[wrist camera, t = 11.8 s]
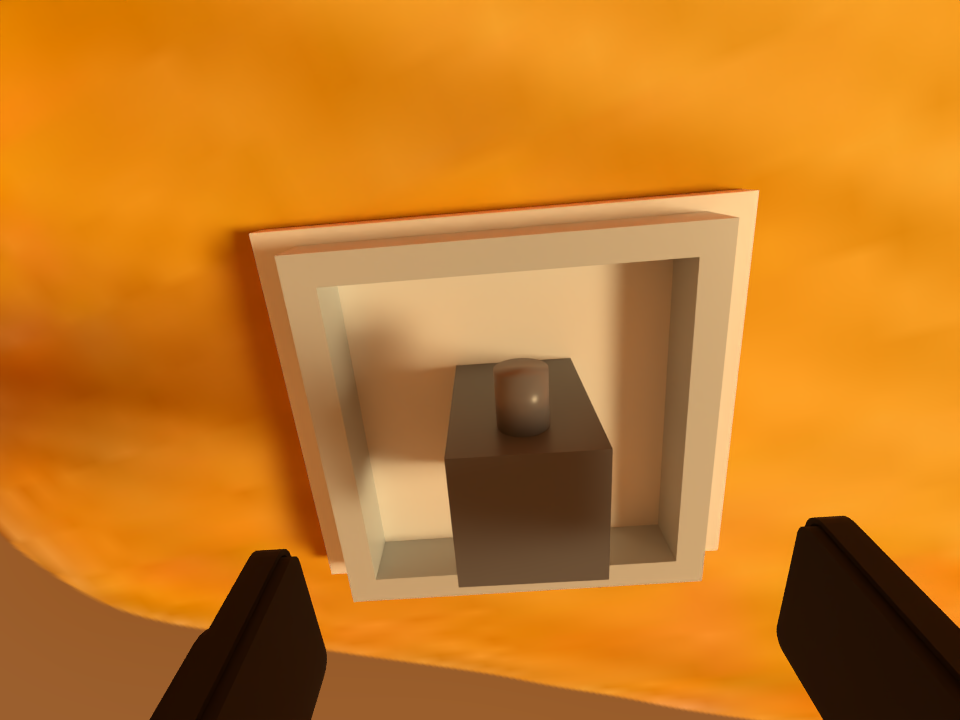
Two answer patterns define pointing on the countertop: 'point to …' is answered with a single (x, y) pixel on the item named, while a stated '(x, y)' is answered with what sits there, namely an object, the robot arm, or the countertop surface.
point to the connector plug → (527, 475)
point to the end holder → (502, 336)
